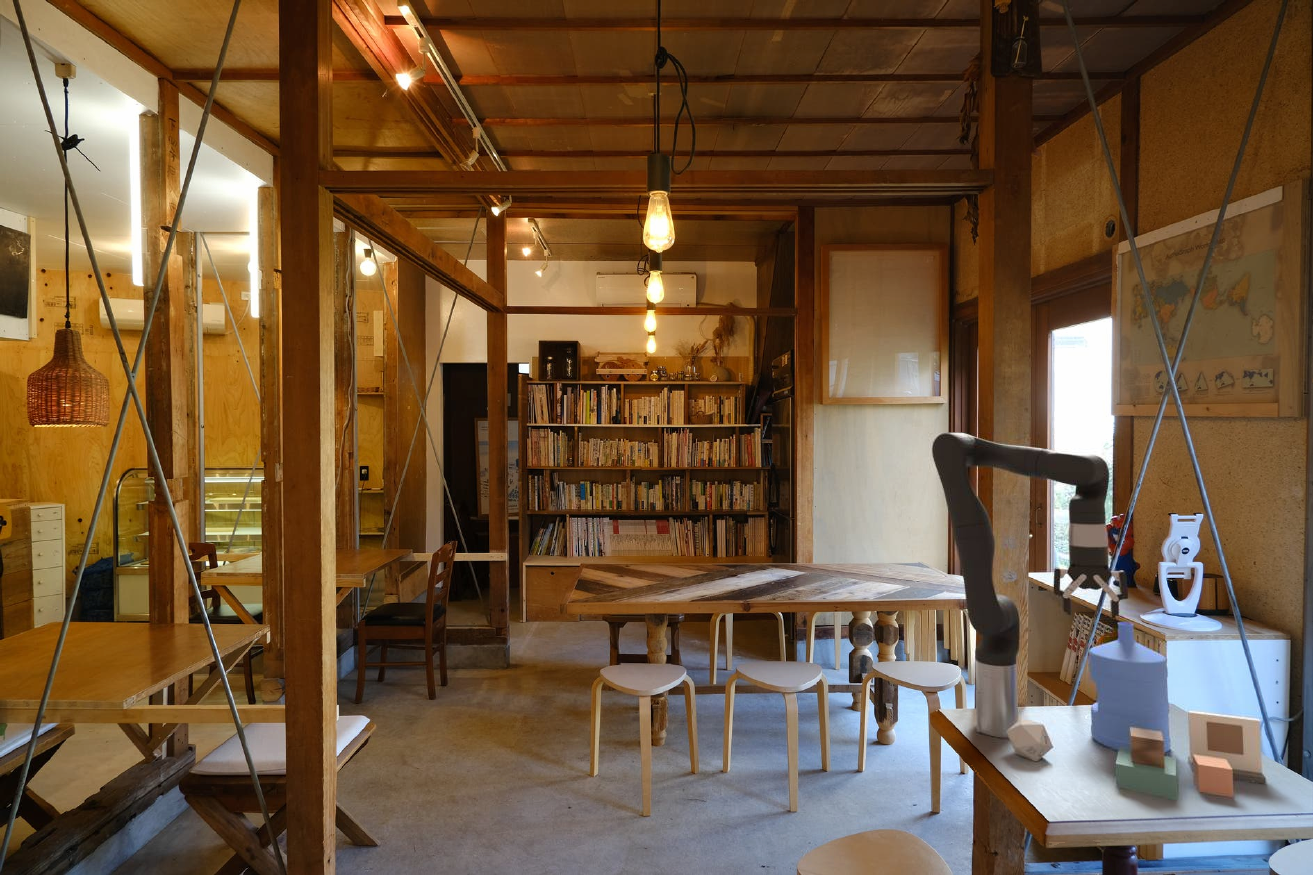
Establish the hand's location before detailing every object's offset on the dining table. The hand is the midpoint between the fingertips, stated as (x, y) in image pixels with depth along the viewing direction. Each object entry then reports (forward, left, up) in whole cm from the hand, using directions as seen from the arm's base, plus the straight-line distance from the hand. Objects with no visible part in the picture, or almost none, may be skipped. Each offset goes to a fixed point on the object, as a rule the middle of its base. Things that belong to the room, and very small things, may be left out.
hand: (1090, 616), depth 159 cm
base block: (+8, -8, -32) cm, 35 cm away
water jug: (+8, +15, -32) cm, 37 cm away
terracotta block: (+20, -5, -32) cm, 38 cm away
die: (-13, -3, -32) cm, 35 cm away
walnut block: (+9, -8, -27) cm, 30 cm away
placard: (+24, +5, -32) cm, 40 cm away
